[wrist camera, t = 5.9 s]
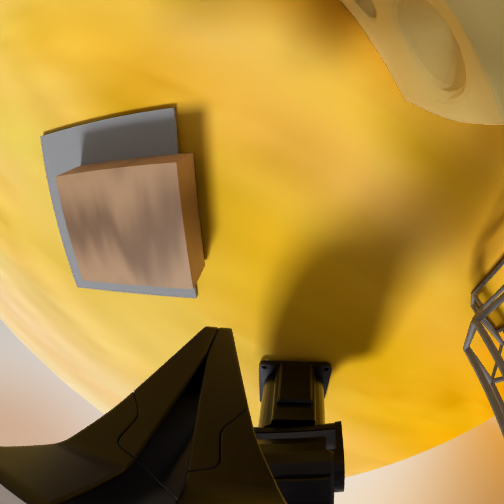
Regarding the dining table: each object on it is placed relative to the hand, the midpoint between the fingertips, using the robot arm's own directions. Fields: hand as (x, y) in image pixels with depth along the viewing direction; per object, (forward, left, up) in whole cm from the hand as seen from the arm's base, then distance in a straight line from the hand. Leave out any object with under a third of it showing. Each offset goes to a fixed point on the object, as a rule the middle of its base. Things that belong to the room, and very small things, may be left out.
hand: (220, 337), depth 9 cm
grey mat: (0, +11, -12) cm, 16 cm away
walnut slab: (0, +4, -10) cm, 10 cm away
